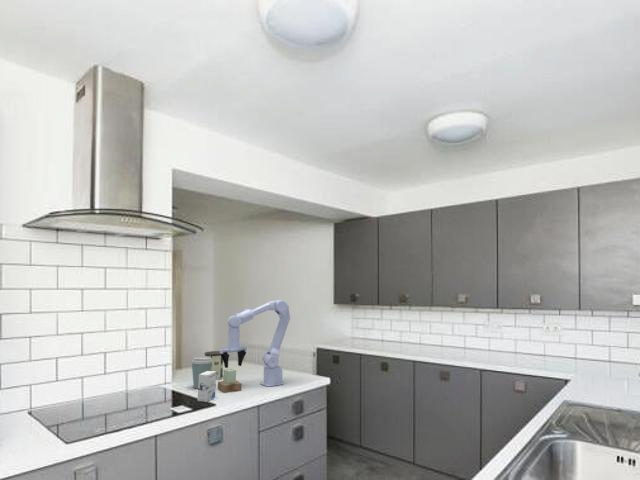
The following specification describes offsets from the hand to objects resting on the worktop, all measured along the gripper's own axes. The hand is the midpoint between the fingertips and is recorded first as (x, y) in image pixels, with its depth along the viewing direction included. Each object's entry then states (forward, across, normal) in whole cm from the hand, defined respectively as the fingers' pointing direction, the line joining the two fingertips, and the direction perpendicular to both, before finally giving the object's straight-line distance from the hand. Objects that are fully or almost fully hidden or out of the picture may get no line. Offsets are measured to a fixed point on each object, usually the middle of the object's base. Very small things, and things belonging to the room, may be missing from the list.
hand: (233, 366), depth 216 cm
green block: (+7, -4, -3) cm, 8 cm away
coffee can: (+10, +2, +26) cm, 28 cm away
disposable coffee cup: (+10, -12, +10) cm, 19 cm away
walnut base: (+11, -4, -3) cm, 12 cm away
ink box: (+10, -20, -12) cm, 25 cm away
